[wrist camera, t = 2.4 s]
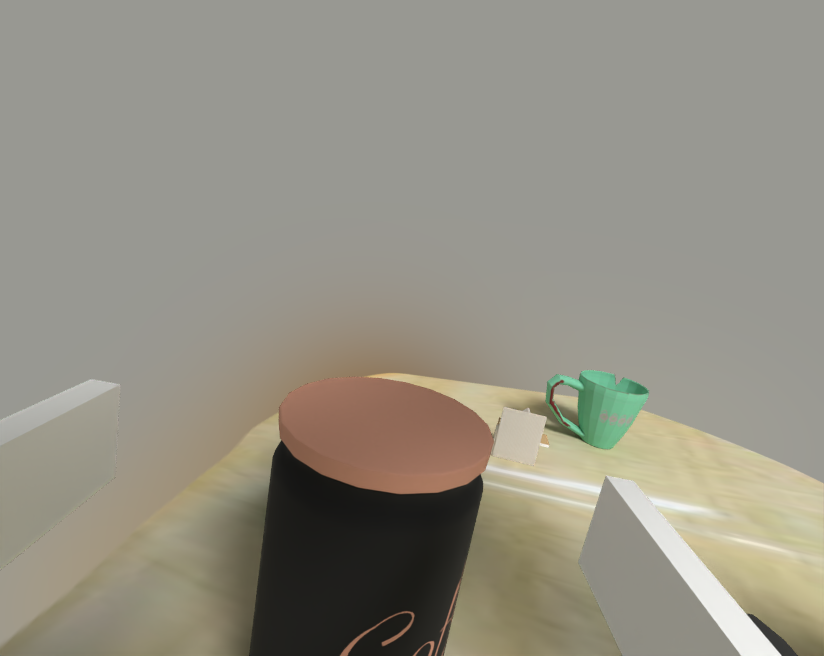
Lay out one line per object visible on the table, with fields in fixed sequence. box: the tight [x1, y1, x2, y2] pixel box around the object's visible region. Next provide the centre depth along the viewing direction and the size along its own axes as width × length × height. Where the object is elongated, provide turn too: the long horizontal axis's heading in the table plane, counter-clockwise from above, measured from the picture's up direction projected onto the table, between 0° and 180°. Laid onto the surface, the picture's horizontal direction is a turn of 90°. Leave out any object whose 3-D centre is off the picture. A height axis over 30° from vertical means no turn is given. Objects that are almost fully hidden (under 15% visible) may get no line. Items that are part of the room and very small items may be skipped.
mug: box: [546, 370, 649, 449], centre depth 68 cm, size 15×10×10 cm
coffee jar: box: [249, 377, 494, 656], centre depth 24 cm, size 11×11×18 cm
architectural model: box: [491, 407, 549, 466], centre depth 59 cm, size 3×7×7 cm, turn 80°
